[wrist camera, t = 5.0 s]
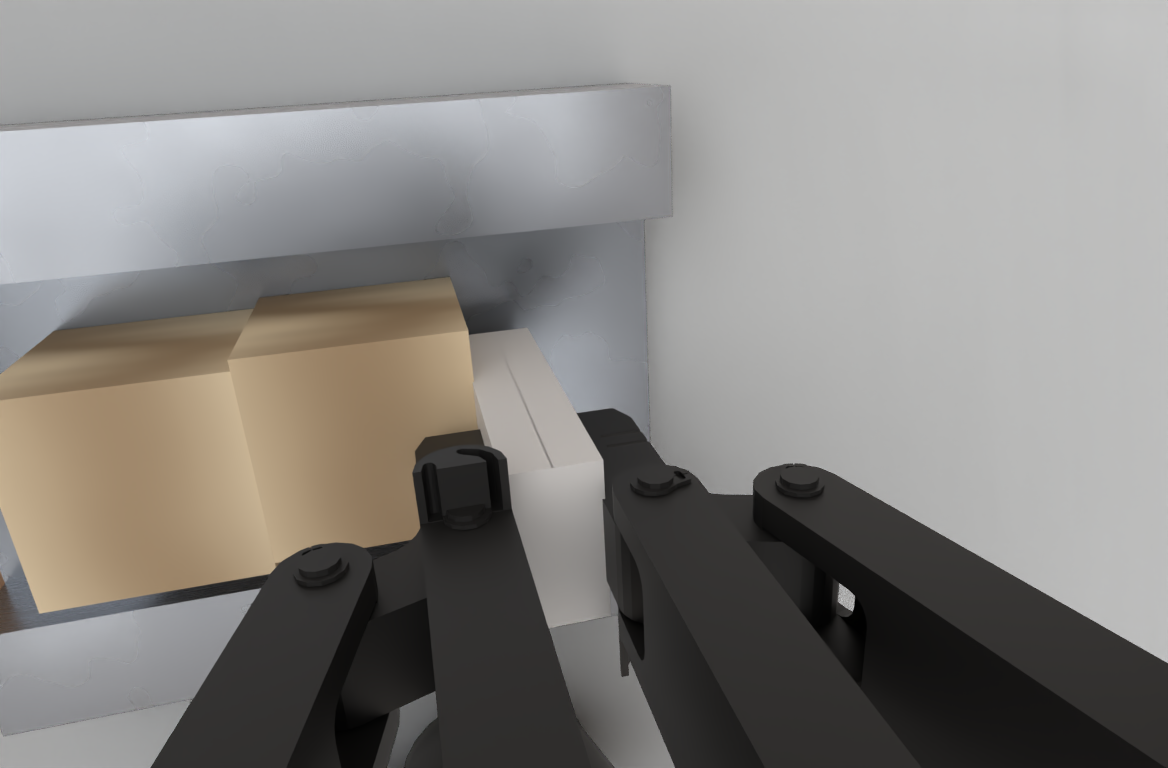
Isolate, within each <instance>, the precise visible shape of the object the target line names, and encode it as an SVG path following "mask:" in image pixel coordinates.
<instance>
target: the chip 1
mask: <svg viewBox="0 0 1168 768" xmlns="http://www.w3.org/2000/svg"><path fill="white" fill-rule="evenodd" d="M252 311H253V309H245V310H236V311H227V312H218V313H209V314H200V315H191V316H182V317H173V318H164V319H155V320H146V321H138V322H129V323H120V324H111V325H102V326H93V327H84V328H75V329H66V330H57V331H53V332H52V333H51V334H49V335H48V336H47V337H46V338H44V339H43V340H42V341H41V342H40V343H38V344H37V345H36V346H35V347H33V348H32V349H31V350H30V351H28V352H27V353H26V354H25V355H23V356H22V357H21V358H20V359H19V360H17V361H16V362H15V363H14V364H12V365H11V366H10V367H9V368H7V369H6V370H5V371H4V372H2V373H1V374H0V509H1V511H2V514H3V517H4V519H5V522H6V525H7V528H8V530H9V533H10V536H11V538H12V541H13V544H14V546H15V549H16V552H17V554H18V557H19V560H20V563H21V565H22V568H23V571H24V573H25V576H26V579H27V581H28V584H29V587H30V590H31V592H32V595H33V598H34V600H35V603H36V606H37V608H38V611H39V614H40V613H46V612H52V611H58V610H64V609H69V608H75V607H81V606H87V605H92V604H98V603H104V602H110V601H116V600H121V599H127V598H133V597H139V596H145V595H150V594H156V593H162V592H168V591H174V590H179V589H185V588H191V587H197V586H203V585H208V584H214V583H220V582H226V581H232V580H237V579H243V578H249V577H255V576H261V575H266V574H271V572H272V571H273V570H274V569H275V568H276V567H277V566H278V565H279V562H278V563H275V561H274V557H273V553H272V548H271V544H270V540H269V536H268V531H267V527H266V523H265V518H264V514H263V510H262V506H261V501H260V497H259V493H258V488H257V484H256V480H255V476H254V471H253V467H252V463H251V459H250V454H249V450H248V446H247V442H246V437H245V433H244V429H243V424H242V420H241V416H240V412H239V407H238V403H237V399H236V395H235V390H234V386H233V382H232V377H231V373H230V369H229V365H228V358H229V356H230V354H231V352H232V350H233V348H234V346H235V344H236V342H237V340H238V338H239V337H240V335H241V333H242V331H243V329H244V327H245V325H246V323H247V321H248V319H249V317H250V315H251V313H252Z"/></svg>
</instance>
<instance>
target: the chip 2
mask: <svg viewBox="0 0 1168 768" xmlns="http://www.w3.org/2000/svg"><path fill="white" fill-rule="evenodd" d="M228 365H229V369H230V373H231V377H232V382H233V386H234V390H235V395H236V399H237V403H238V407H239V412H240V416H241V420H242V424H243V429H244V433H245V437H246V442H247V446H248V450H249V454H250V459H251V463H252V467H253V471H254V476H255V480H256V484H257V488H258V493H259V497H260V501H261V506H262V510H263V514H264V518H265V523H266V527H267V531H268V536H269V540H270V544H271V548H272V553H273V557H274V561H275V563H278V562H282V561H283V560H285V559H286V558H288V557H290V556H291V555H293V554H295V553H296V552H298V551H300V550H302V549H305V548H307V547H309V548H310V547H311V546H314V545H318V544H328V543H335V542H338V543H352V544H355V545H358V546H360V547H363V548H367V547H372V546H378V545H384V544H390V543H396V542H402V541H408V540H412V539H413V538H414V537H415V536H416V534H417V533H418V531H419V529H420V522H419V516H418V509H417V502H416V495H415V489H414V482H413V475H412V472H413V469H414V466H415V464H416V459H415V450H416V449H417V448H418V446H419V445H420V444H421V442H422V441H423V440H424V438H425V437H430V436H437V435H444V434H450V433H457V432H464V431H471V430H478V426H477V417H476V408H475V400H474V391H473V382H474V377H473V368H472V359H471V350H470V342H469V333H468V328H467V325H466V322H465V320H464V317H463V314H462V311H461V308H460V305H459V302H458V299H457V296H456V293H455V290H454V287H453V284H452V281H451V279H450V277H445V278H436V279H426V280H417V281H408V282H399V283H390V284H381V285H372V286H362V287H353V288H344V289H335V290H326V291H317V292H308V293H298V294H289V295H280V296H271V297H262V298H259V299H258V301H257V303H256V305H255V307H254V309H253V311H252V313H251V315H250V317H249V319H248V321H247V323H246V325H245V327H244V329H243V331H242V333H241V335H240V337H239V338H238V340H237V342H236V344H235V346H234V348H233V350H232V352H231V354H230V356H229V358H228Z"/></svg>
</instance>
